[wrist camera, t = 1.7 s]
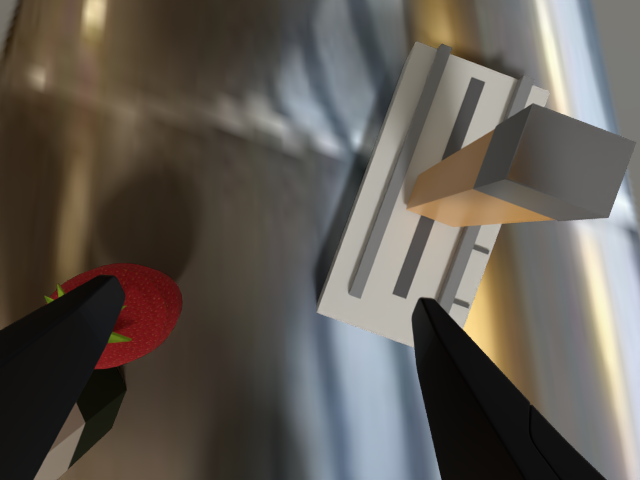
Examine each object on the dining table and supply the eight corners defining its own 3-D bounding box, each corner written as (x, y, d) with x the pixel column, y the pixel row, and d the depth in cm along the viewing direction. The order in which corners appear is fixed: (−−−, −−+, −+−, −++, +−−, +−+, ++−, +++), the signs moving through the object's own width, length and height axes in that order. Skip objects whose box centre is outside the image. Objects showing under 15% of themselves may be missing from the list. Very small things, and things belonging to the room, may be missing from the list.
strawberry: (218, 320, 23) (146, 383, 13) (123, 346, 23) (-21, 428, 13) (198, 246, 23) (111, 253, 13) (103, 271, 23) (-58, 297, 13)
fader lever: (454, 228, 21) (608, 217, 10) (404, 210, 21) (505, 179, 10) (467, 192, 21) (636, 142, 10) (417, 174, 21) (533, 102, 10)
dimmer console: (436, 347, 24) (455, 364, 21) (316, 304, 24) (316, 314, 20) (525, 107, 24) (556, 87, 21) (405, 61, 23) (419, 35, 20)
